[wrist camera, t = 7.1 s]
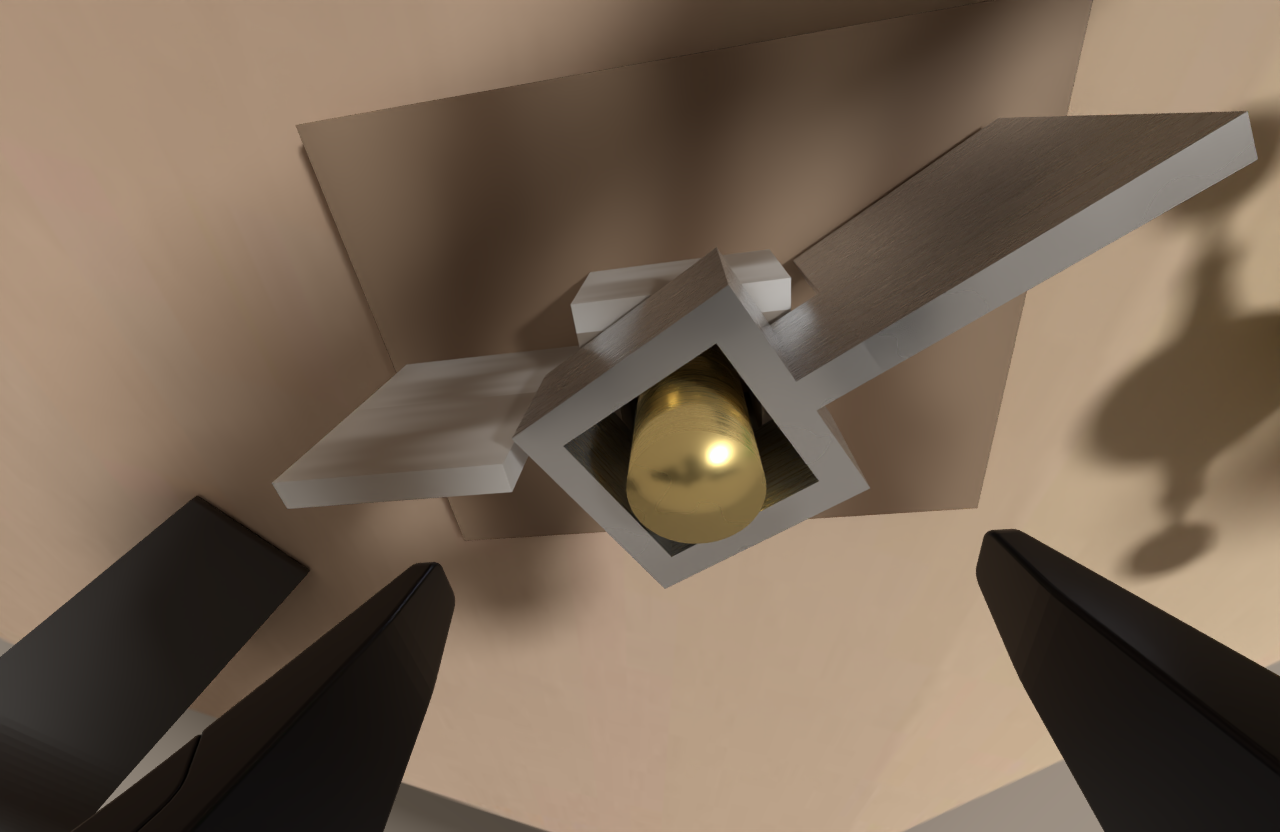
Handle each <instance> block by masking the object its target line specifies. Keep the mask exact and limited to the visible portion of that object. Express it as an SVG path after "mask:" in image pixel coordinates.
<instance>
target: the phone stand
mask: <svg viewBox="0 0 1280 832" xmlns="http://www.w3.org/2000/svg"><path fill="white" fill-rule="evenodd" d="M309 571H310V570H308V569H307V568H305V567H304V566H302V565H301V564H299V563H298V562H296V561H295V560H293V559H292V558H290V557H289V556H287V555H286V554H284V553H283V552H281V551H280V550H278V549H277V548H275V547H274V546H272V545H271V544H269V543H268V542H266V541H265V540H263V539H262V538H260V537H259V536H257V535H256V534H254V533H252V532H251V531H249V530H248V529H246V528H245V527H243V526H242V525H240V524H239V523H237V522H236V521H234V520H233V519H231V518H230V517H228V516H227V515H225V514H224V513H222V512H221V511H219V510H218V509H216V508H215V507H213V506H212V505H210V504H209V503H207V502H206V501H204V500H203V499H201V498H200V497H198V496H196V497H194V498H193V499H192V500H190V501H189V502H188V503H187V504H186V505H184V506H183V507H182V508H181V509H179V510H178V511H177V512H176V513H175V514H173V515H172V516H171V517H170V518H169V519H167V520H166V521H165V522H164V523H162V524H161V525H160V526H159V527H158V528H156V529H155V530H154V531H153V532H151V533H150V534H149V535H148V536H147V537H145V538H144V539H143V540H142V541H141V542H139V543H138V544H137V545H136V546H134V547H133V548H132V549H131V550H130V551H128V552H127V553H126V554H125V555H124V556H122V557H121V558H120V559H119V560H117V561H116V562H115V563H114V564H113V565H111V566H110V567H109V568H108V569H107V570H105V571H104V572H103V573H102V574H100V575H99V576H98V577H97V578H96V579H94V580H93V581H92V582H91V583H90V584H88V585H87V586H86V587H85V588H83V589H82V590H81V591H80V592H79V593H77V594H76V595H75V596H74V597H73V598H71V599H70V600H69V601H68V602H66V603H65V604H64V605H63V606H62V607H60V608H59V609H58V610H57V611H56V612H54V613H53V614H52V615H51V616H49V617H48V618H47V619H46V620H45V621H43V622H42V623H41V624H40V625H39V626H37V627H36V628H35V629H34V630H32V631H31V632H30V633H29V634H28V635H26V636H25V637H24V638H23V639H22V640H20V641H19V642H18V643H17V644H15V645H14V646H13V647H12V648H11V649H9V650H8V651H7V652H6V653H5V654H3V655H2V656H1V657H0V832H70V831H72V830H73V829H75V828H76V827H77V826H79V825H80V824H81V823H83V822H84V821H86V820H87V819H88V818H90V817H91V816H92V815H94V814H95V813H96V812H97V811H98V809H99V808H100V807H101V806H102V805H103V804H104V802H105V801H106V800H107V799H108V798H109V796H110V795H111V794H112V793H113V792H114V791H115V790H116V788H117V787H118V786H119V785H120V784H121V783H122V781H123V780H124V779H125V778H126V777H127V776H128V775H129V774H130V772H131V771H132V770H133V769H134V768H135V767H136V766H137V765H138V764H139V762H140V761H141V760H142V759H143V758H144V757H145V756H146V754H147V753H148V752H149V751H150V750H151V749H152V748H153V747H154V745H155V744H156V743H157V742H158V741H159V740H160V739H161V738H162V737H163V735H164V734H165V733H166V732H167V731H168V730H169V728H171V726H172V725H173V724H174V723H175V722H176V721H177V720H178V718H179V717H180V716H181V715H182V714H183V713H184V712H185V711H186V710H187V708H188V707H189V706H190V705H191V704H192V703H193V702H194V701H195V699H196V698H197V697H198V696H199V695H200V694H201V693H202V692H203V691H204V689H205V688H206V687H207V686H208V685H209V684H210V683H211V682H212V680H213V679H214V678H215V677H216V676H217V675H218V674H219V673H220V671H221V670H222V669H223V668H224V667H225V666H226V665H227V664H228V662H229V661H230V660H231V659H232V658H233V657H234V656H235V655H236V653H237V652H238V651H239V650H240V649H241V648H242V647H243V646H244V644H245V643H246V642H247V641H248V640H249V639H250V638H251V637H252V635H253V634H254V633H255V632H256V631H257V630H258V629H259V628H260V626H261V625H262V624H263V623H264V622H265V621H266V620H267V619H268V617H269V616H270V615H271V614H272V613H273V612H274V611H275V610H276V609H277V607H278V606H279V605H280V604H281V603H282V602H283V601H284V600H285V598H286V597H287V596H288V595H289V594H290V593H291V592H292V591H293V589H294V588H295V587H296V586H297V585H298V584H299V583H300V582H301V580H302V579H303V578H304V577H305V576H306V575H307V574H308V572H309Z"/></svg>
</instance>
